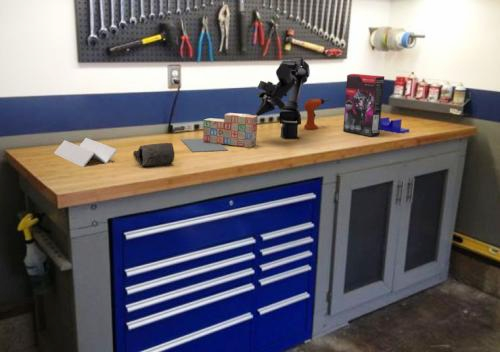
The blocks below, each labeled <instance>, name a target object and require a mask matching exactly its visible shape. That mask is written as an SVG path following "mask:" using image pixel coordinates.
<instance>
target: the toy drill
mask: <svg viewBox="0 0 500 352" xmlns="http://www.w3.org/2000/svg"><path fill="white" fill-rule="evenodd" d="M327 101H330V98H326V99H323V98H321V99H319V98H314V99H312V98H310V99H308V100H307V101H306V102H305V103H304V106H303V107H304V111H306V114H307V117H306V118H307V119H306V123H305V124H304V126H303V129H304V130H307V131H310V130H317V129H318V125H316V124H315V119H316V118H315V117H316V114H315V110H317V109H318V108H320V107H321V106H322V105H323V104H324V103H326V102H327Z"/></svg>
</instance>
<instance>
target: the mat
mask: <svg viewBox="0 0 500 352" xmlns="http://www.w3.org/2000/svg"><path fill="white" fill-rule="evenodd" d="M180 141H182V143H183V144H184V145H185V146H186V147H187V148H188V149H189V150H190V151H191V152H192V153H205V152H207V153H208V152H226V151H229V149H228V148H227V147H225V146H224V144H219V143H211V142H203V138H184V139H183V138H182V139H180Z"/></svg>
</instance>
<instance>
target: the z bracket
mask: <svg viewBox="0 0 500 352" xmlns="http://www.w3.org/2000/svg"><path fill="white" fill-rule="evenodd" d="M117 152H118V149H117V148H114V147H112V146H109V145H107V144H104V143H101V142H99V141H96V140H93V139H90V138H88V137H85V139H84V140H83V141H82V142H81V143H80V144H79V145H77V144H75V143H72V142H70V141H67V140H65V139H64V140H63V142H61V144H60V145H59V146H58V148H56V150H55V151H54V152H53V154H55V155H57V156H58V157H61V158H63V159H65V160H66V161H69V162H71V163H74V164H76V165H77V166H79V167H82V168H84V167H85V166H86V165H87V164H88V162H89V161H90V160H91V159H95V160H97V161H99V162H102V163H104V164H108V163H109V162H110V160H111V159H112V157H113V156H114V155H115V154H116V153H117Z"/></svg>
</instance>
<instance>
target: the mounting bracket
mask: <svg viewBox="0 0 500 352" xmlns="http://www.w3.org/2000/svg"><path fill="white" fill-rule="evenodd" d="M402 120H403V119H401V118H398V119H397V118H396V119H391V120H390V117H389V116H386V117H381V120H380V131H383V130H384V131H385V132H388V131H389V133H394V132H396V133H395V134H399V133H402V134H406V133H405V132H407V133H410V128H404V127H402ZM384 131H383V132H384Z"/></svg>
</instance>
